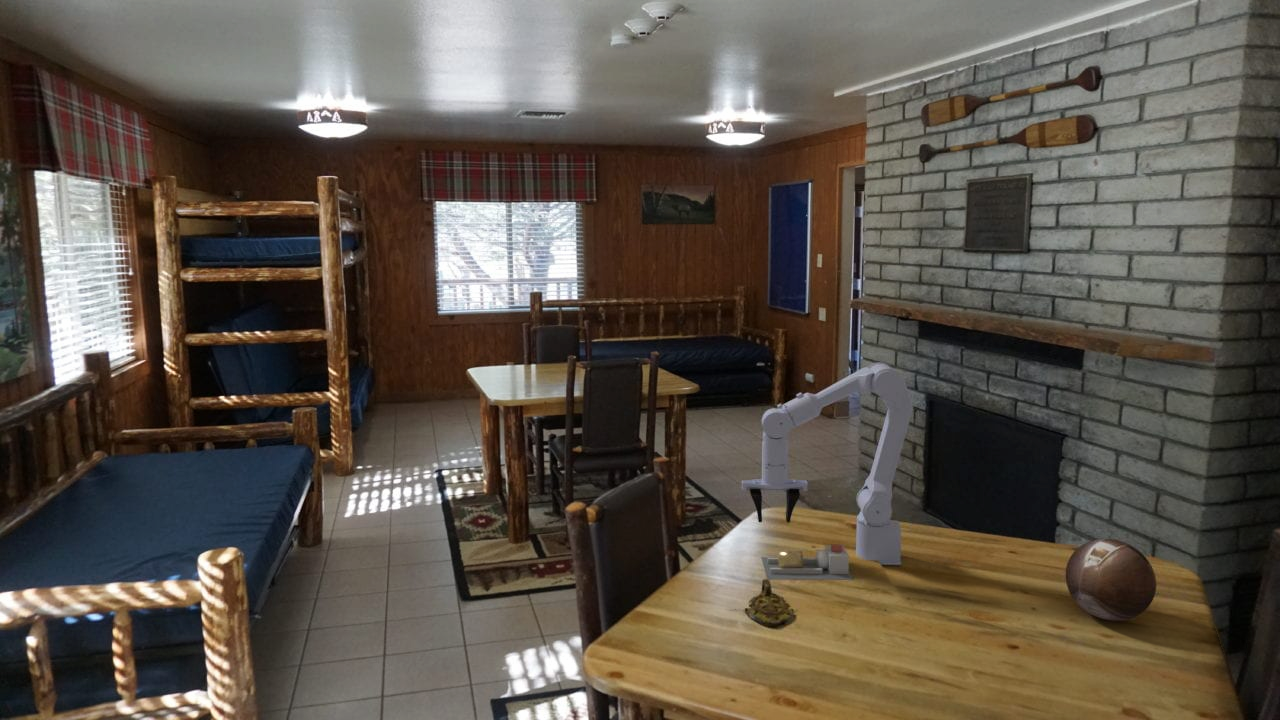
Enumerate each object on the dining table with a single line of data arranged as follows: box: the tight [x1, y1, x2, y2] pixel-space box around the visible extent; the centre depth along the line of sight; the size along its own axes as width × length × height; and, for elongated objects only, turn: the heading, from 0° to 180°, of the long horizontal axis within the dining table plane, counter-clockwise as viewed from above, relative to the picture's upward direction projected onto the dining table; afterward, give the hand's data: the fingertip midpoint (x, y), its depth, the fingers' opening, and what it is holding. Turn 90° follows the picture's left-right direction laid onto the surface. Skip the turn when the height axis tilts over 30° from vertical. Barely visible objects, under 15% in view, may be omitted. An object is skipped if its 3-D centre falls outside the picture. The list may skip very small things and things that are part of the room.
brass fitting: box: [776, 550, 804, 568], centre depth 183 cm, size 5×4×4 cm
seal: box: [744, 578, 795, 629], centre depth 165 cm, size 9×5×15 cm
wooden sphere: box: [1065, 538, 1157, 622], centre depth 161 cm, size 15×15×15 cm
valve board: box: [761, 543, 854, 581], centre depth 183 cm, size 18×12×6 cm, turn 87°
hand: (773, 521), depth 192 cm, fingers open, 6 cm apart
